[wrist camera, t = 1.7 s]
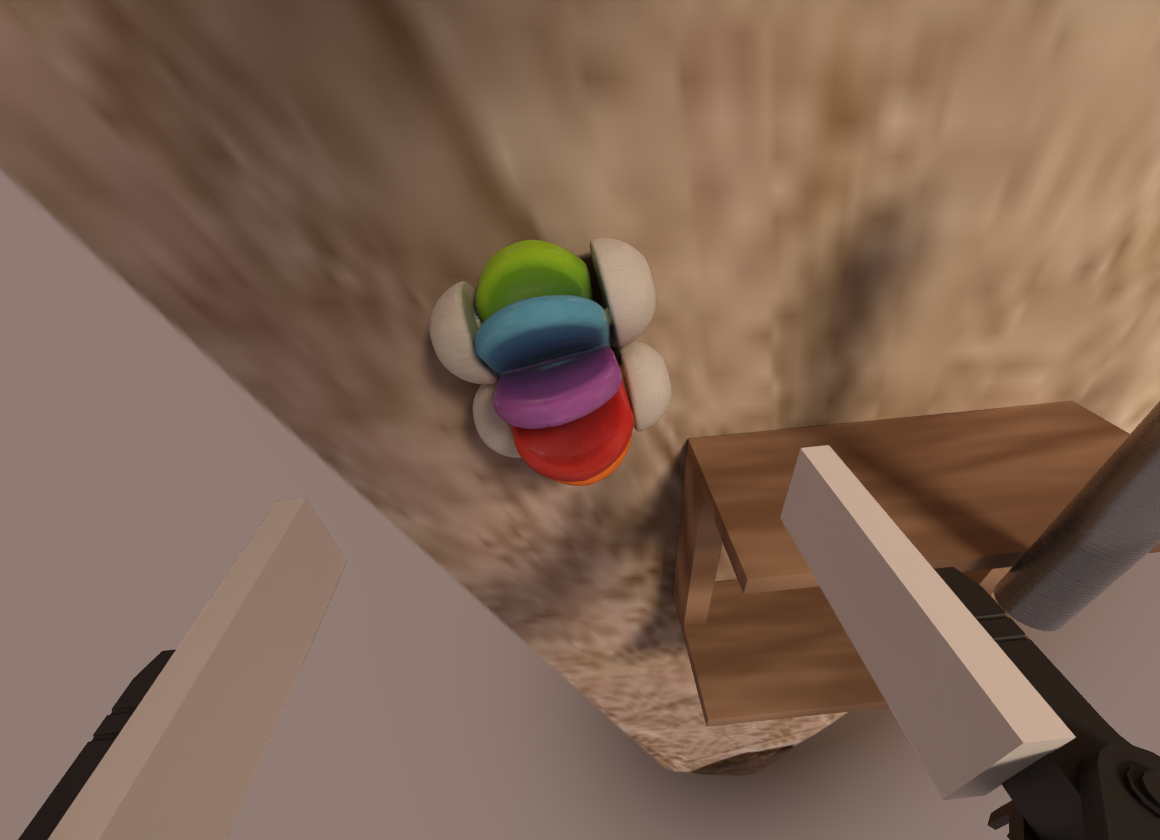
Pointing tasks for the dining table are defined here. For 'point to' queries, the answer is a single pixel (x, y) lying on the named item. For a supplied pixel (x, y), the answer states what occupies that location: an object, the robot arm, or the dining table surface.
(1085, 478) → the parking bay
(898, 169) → the dining table surface
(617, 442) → the rainbow disc toy
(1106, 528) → the rod
